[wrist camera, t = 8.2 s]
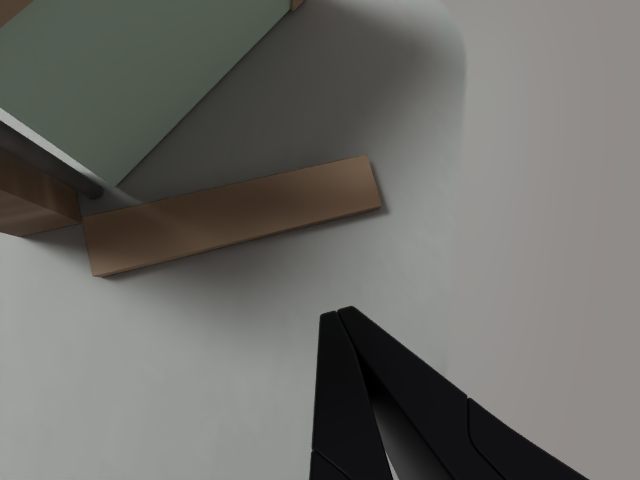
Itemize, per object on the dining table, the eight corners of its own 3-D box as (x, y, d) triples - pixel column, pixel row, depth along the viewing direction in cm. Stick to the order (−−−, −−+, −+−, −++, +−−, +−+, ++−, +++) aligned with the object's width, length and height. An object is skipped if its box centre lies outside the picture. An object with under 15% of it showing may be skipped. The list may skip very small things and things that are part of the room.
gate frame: (378, 209, 21) (568, 25, 7) (28, 295, 18) (-759, 267, 4) (349, 112, 22) (469, -220, 8) (10, 181, 19) (-700, -142, 5)
